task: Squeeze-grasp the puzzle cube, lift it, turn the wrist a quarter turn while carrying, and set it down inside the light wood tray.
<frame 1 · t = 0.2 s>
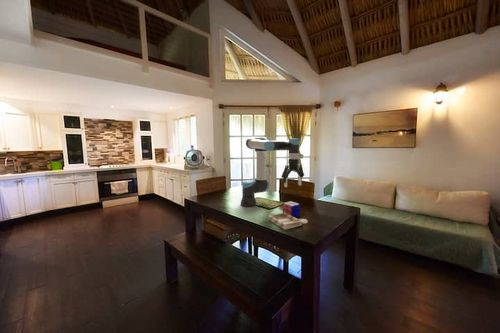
hand: (292, 186, 161), 27 cm above the table, fingers open, 13 cm apart
puzzle cube: (291, 215, 174), on the table
light wood tray: (284, 222, 159), on the table
white round disc: (302, 221, 160), on the table
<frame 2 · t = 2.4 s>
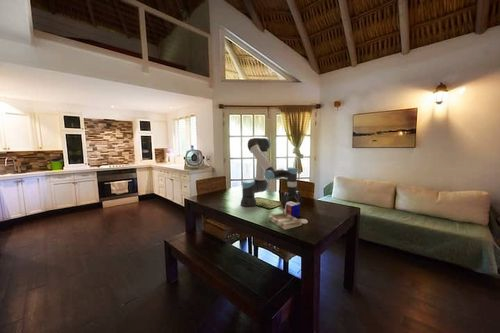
hand: (291, 211, 173), 3 cm above the table, fingers open, 13 cm apart
nothing on the table moved.
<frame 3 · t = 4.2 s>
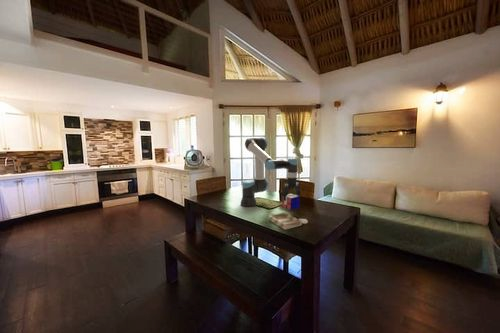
hand: (290, 203, 173), 10 cm above the table, fingers closed on puzzle cube, 10 cm apart
puzzle cube: (290, 207, 174), point 6 cm above the table, touching gripper
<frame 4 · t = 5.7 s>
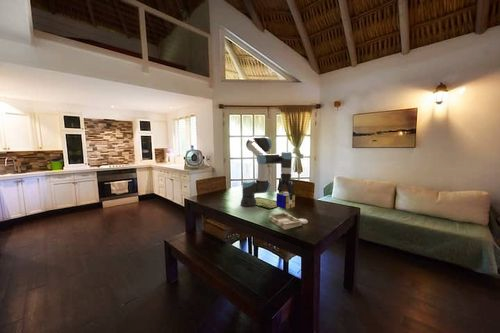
hand: (285, 202, 157), 16 cm above the table, fingers closed on puzzle cube, 10 cm apart
puzzle cube: (285, 206, 157), point 12 cm above the table, touching gripper
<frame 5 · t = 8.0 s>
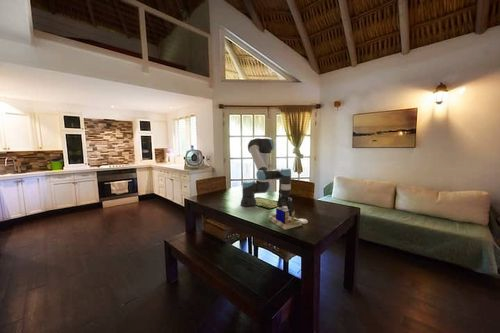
hand: (284, 217, 158), 4 cm above the table, fingers closed on puzzle cube, 10 cm apart
puzzle cube: (284, 221, 158), point 1 cm above the table, touching gripper, light wood tray
when the fingers open (4 cm above the table, at t = 8.6 s): puzzle cube stays where it is, resting on light wood tray.
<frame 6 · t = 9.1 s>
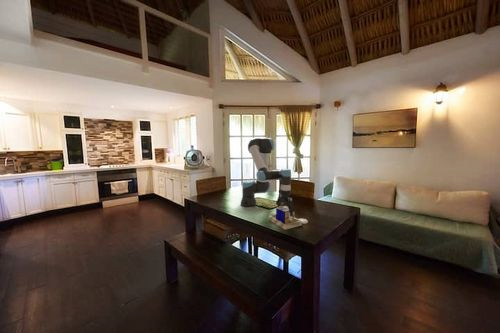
hand: (284, 217, 158), 4 cm above the table, fingers open, 13 cm apart
puzzle cube: (284, 221, 158), point 1 cm above the table, touching light wood tray
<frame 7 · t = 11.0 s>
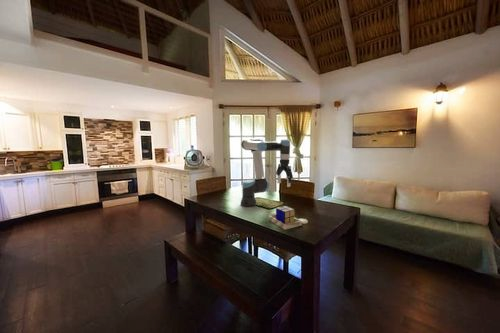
hand: (283, 184, 170), 26 cm above the table, fingers open, 13 cm apart
nothing on the table moved.
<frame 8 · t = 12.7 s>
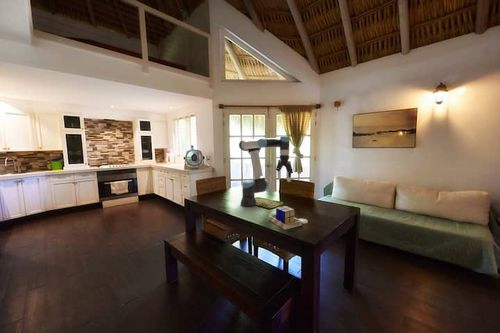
hand: (283, 180, 175), 29 cm above the table, fingers open, 13 cm apart
nothing on the table moved.
at the end: puzzle cube inside the target area on the light wood tray (0.2 cm from its centre), point 0.6 cm above the light wood tray's base; puzzle cube tilted 0°; the gripper is holding nothing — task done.
